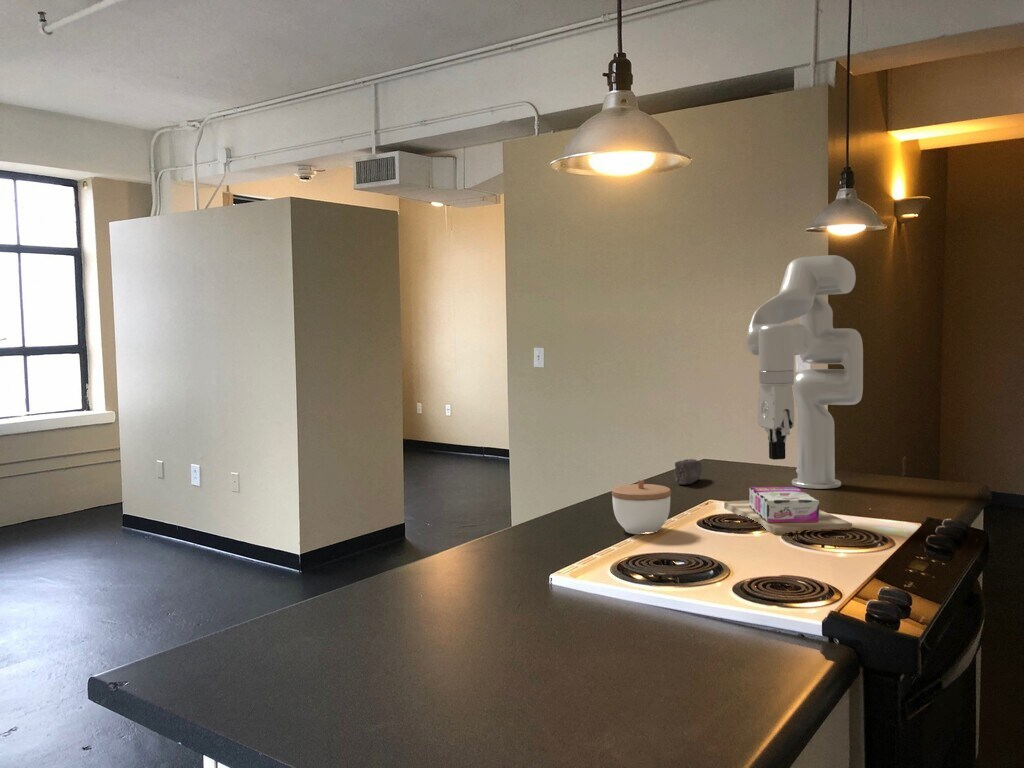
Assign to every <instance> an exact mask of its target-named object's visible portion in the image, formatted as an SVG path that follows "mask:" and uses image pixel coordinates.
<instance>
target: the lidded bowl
mask: <svg viewBox="0 0 1024 768" xmlns="http://www.w3.org/2000/svg"><path fill="white" fill-rule="evenodd" d="M671 495H672V490H671V488H670V487H668V486H665V485H660V484H653V483H650V484H649V483H645V480H644V479H638V480H637V483H633V484H629V483H628V484H620V485H617V486H615V487H613V488H611V496H612V500H611V501H612V509H613V514H614V516H615V519H616V521H617V522H618V524H619V525H620V526H621V527H622V528H623V529H624V531H625V532H626V533H627V534H632V535H640V534H641V533H645V532H656V531H658V530H660V529H661V528H662V527H663V526H664V525H665V524H666V522H667V521H668V518H669V515H670V510H671ZM658 532H659V531H658Z"/></svg>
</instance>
